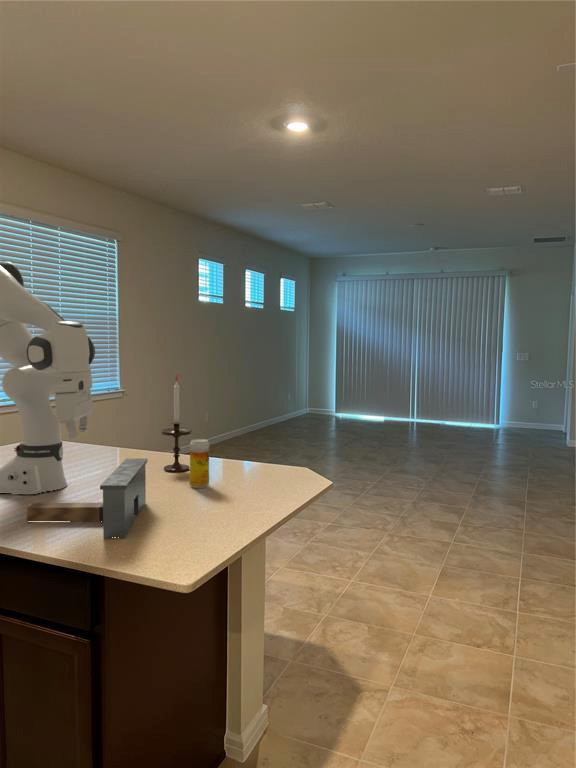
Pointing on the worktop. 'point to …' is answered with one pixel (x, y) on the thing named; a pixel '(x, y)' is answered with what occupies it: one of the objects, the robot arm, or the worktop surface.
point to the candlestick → (176, 435)
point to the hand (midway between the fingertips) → (78, 434)
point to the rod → (65, 512)
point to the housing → (123, 497)
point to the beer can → (199, 463)
